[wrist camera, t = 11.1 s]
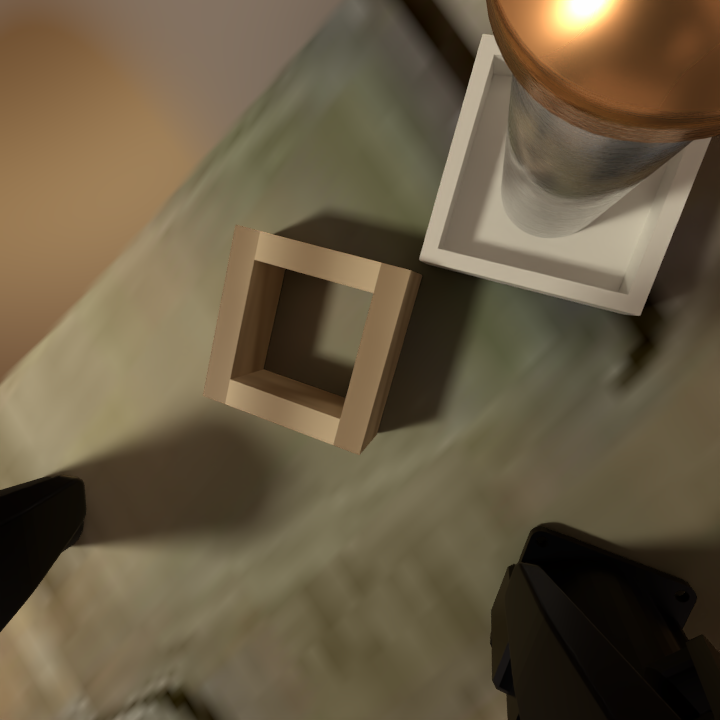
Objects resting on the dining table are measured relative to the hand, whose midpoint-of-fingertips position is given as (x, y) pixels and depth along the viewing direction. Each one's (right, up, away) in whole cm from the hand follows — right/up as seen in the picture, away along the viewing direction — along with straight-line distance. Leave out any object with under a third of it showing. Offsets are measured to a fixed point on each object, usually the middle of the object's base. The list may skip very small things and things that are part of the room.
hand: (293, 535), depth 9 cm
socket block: (0, +5, +12) cm, 13 cm away
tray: (+9, +11, +8) cm, 16 cm away
